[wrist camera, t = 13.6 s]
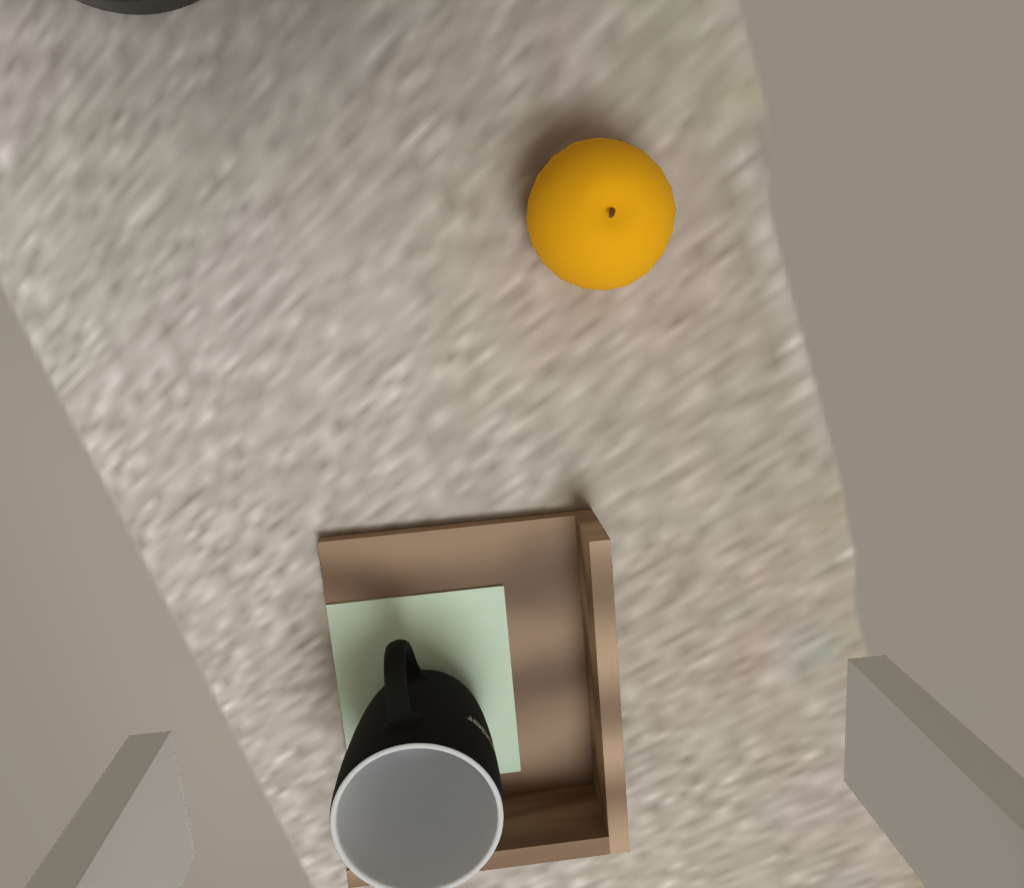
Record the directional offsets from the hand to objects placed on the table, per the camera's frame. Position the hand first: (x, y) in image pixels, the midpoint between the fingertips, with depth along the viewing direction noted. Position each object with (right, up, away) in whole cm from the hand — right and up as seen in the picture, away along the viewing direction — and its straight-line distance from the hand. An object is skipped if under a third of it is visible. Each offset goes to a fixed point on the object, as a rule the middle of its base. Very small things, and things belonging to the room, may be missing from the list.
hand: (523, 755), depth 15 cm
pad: (-6, -10, +34) cm, 36 cm away
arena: (-3, -9, +35) cm, 36 cm away
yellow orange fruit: (+4, +19, +30) cm, 36 cm away
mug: (-6, -10, +34) cm, 36 cm away
